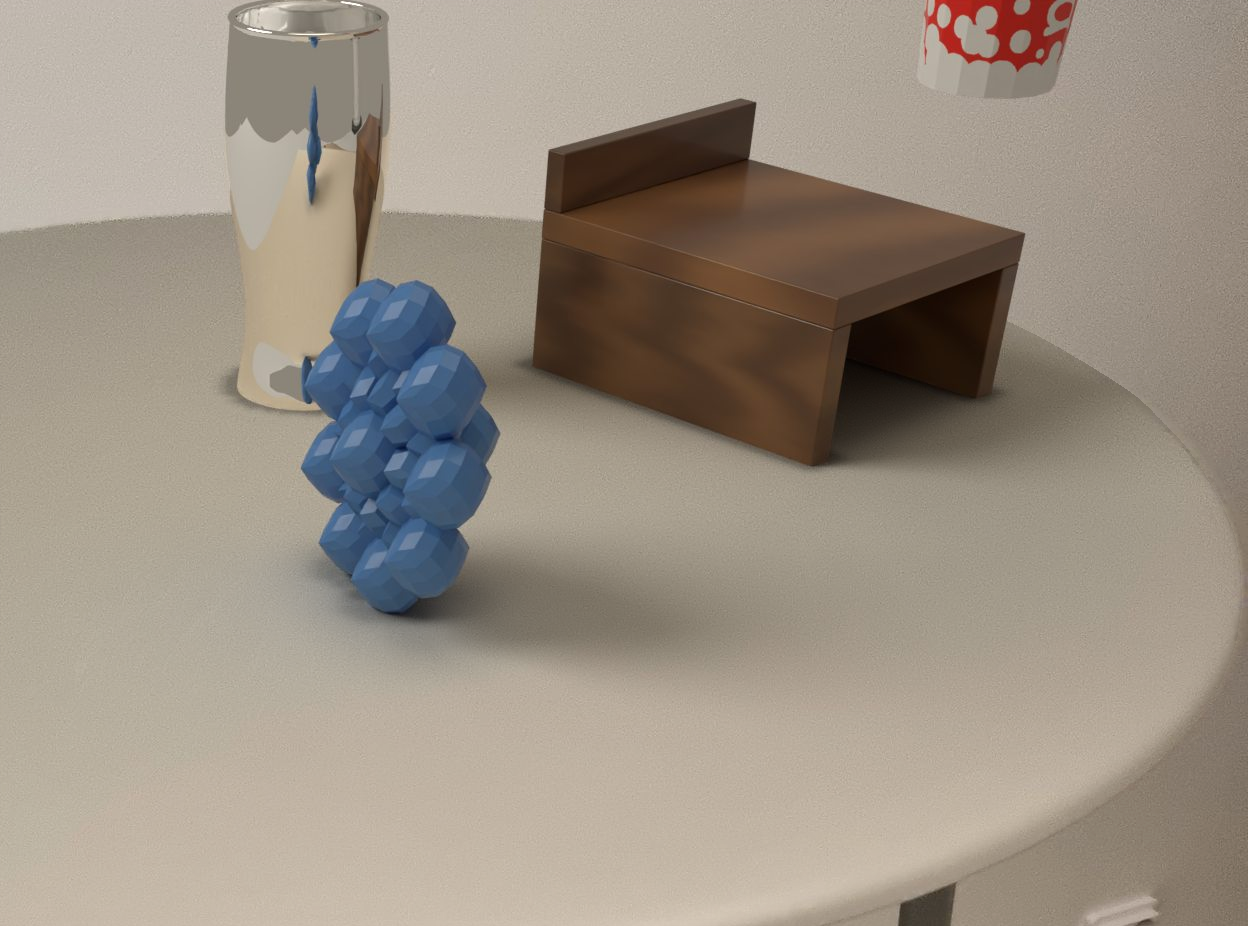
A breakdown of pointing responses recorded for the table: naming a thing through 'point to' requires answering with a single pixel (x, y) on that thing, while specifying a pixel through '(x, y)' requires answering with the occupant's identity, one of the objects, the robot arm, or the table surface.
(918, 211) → the shelf
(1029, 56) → the beverage cup
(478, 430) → the grapes
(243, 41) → the beer glass
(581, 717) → the table surface
